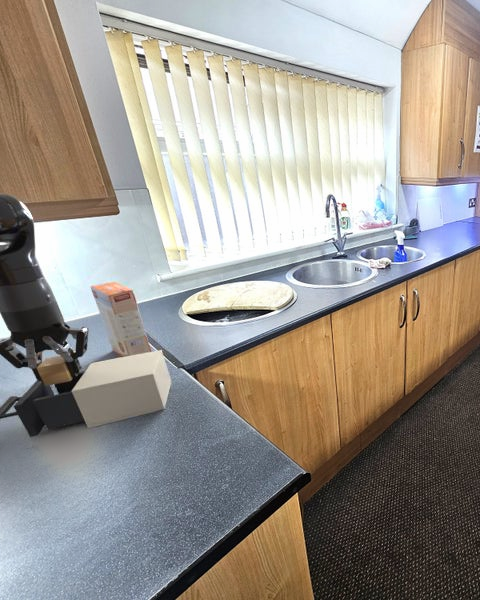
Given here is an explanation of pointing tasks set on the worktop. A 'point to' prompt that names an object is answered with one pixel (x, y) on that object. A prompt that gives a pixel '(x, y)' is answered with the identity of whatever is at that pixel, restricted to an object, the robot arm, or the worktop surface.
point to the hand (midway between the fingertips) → (61, 377)
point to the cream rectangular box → (123, 388)
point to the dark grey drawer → (45, 406)
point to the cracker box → (121, 319)
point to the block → (54, 371)
